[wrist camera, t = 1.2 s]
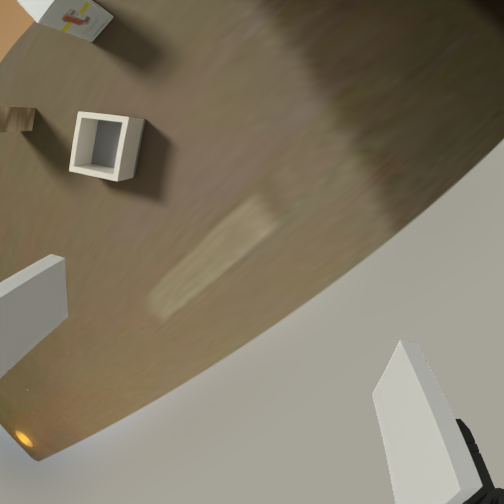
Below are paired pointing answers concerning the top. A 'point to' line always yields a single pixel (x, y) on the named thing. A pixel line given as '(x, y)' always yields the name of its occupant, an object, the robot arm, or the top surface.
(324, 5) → the top surface
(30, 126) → the tan wooden block
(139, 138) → the white square open box
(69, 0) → the ink box
